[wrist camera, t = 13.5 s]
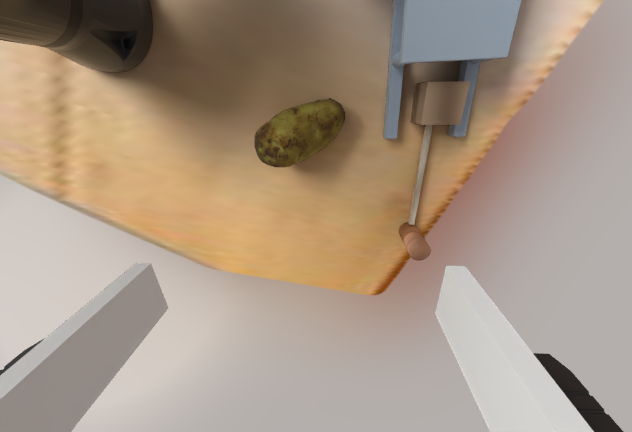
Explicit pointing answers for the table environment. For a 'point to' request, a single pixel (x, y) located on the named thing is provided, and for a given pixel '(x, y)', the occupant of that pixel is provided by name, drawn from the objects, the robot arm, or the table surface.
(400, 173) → the table surface
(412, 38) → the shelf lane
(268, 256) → the table surface
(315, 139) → the dirty green tuber
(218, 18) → the table surface
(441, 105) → the wooden mallet
